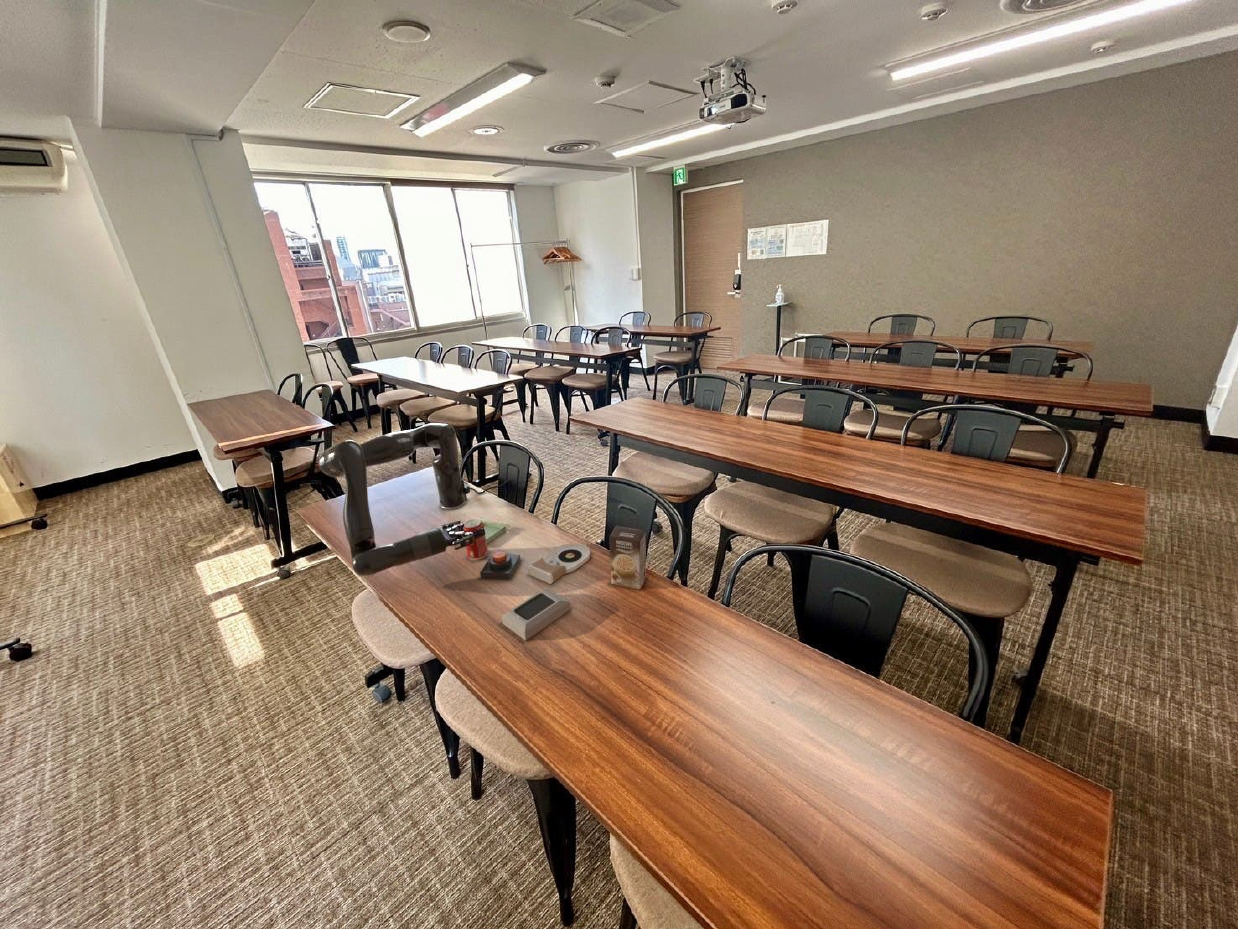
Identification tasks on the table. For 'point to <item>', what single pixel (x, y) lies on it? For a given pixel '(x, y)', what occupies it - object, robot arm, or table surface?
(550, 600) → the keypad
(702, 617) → the table surface
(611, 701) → the table surface
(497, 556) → the button
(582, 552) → the record player
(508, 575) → the button box
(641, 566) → the coffee box
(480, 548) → the beverage can
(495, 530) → the tray
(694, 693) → the table surface
